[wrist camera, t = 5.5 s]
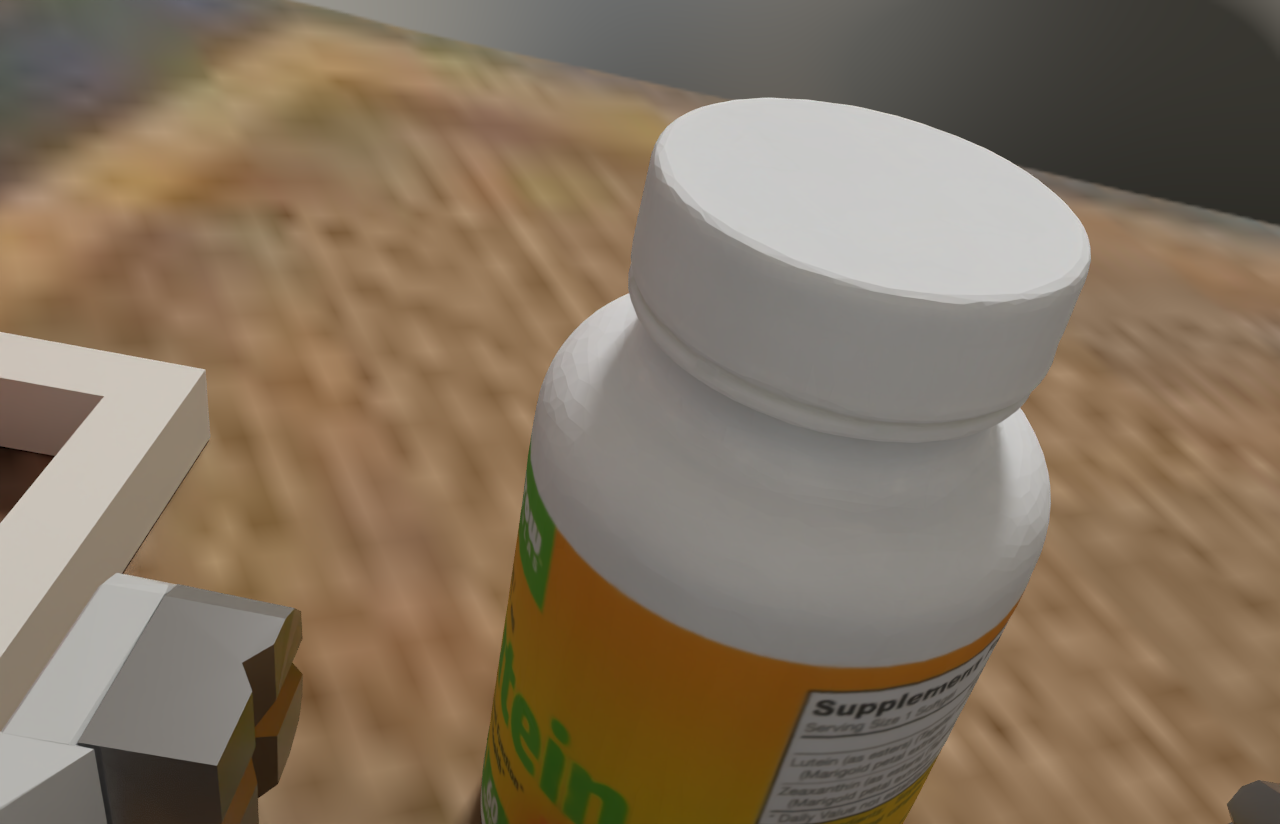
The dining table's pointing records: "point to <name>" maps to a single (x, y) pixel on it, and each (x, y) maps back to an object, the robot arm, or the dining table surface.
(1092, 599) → the dining table surface
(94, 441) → the rectangular frame with crossbar
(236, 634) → the robot arm
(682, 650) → the supplement bottle
